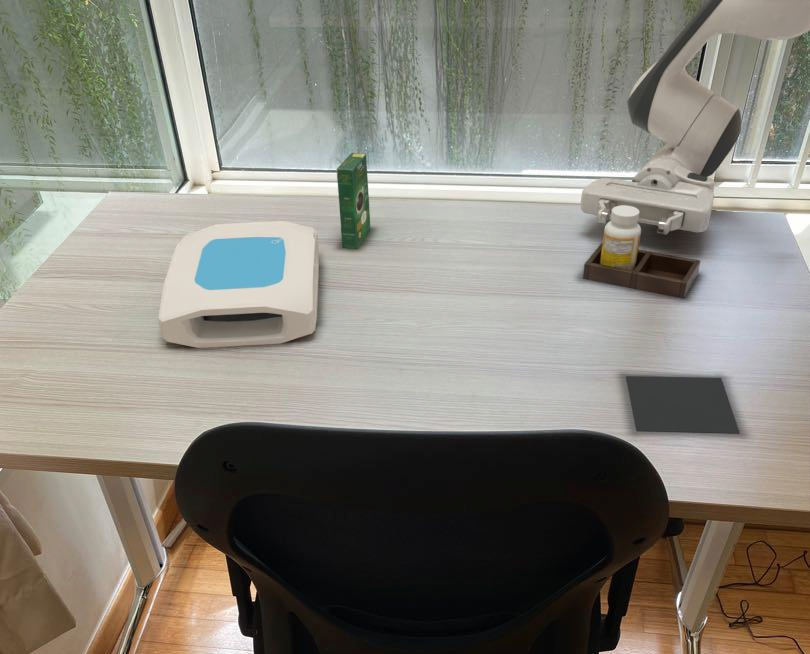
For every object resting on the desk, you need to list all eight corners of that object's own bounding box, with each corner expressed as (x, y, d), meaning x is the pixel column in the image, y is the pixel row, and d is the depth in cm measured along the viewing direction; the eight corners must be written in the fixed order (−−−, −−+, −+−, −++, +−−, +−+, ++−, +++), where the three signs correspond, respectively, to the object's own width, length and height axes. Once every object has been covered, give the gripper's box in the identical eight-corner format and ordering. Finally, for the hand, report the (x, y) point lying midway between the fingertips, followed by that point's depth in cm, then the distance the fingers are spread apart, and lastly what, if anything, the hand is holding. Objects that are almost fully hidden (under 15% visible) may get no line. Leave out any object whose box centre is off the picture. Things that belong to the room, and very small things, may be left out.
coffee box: (355, 230, 149) (350, 150, 140) (371, 231, 149) (367, 151, 140) (341, 250, 143) (334, 168, 135) (357, 251, 143) (352, 170, 134)
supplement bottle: (618, 284, 131) (627, 221, 125) (591, 272, 134) (599, 210, 128) (641, 272, 134) (651, 210, 127) (614, 261, 137) (623, 200, 130)
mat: (720, 380, 112) (721, 377, 112) (738, 436, 103) (739, 432, 103) (625, 379, 113) (625, 375, 113) (635, 434, 104) (636, 430, 104)
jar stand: (697, 277, 133) (700, 260, 131) (683, 301, 128) (686, 283, 126) (599, 259, 138) (601, 242, 136) (582, 281, 133) (584, 263, 131)
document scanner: (164, 352, 121) (154, 311, 117) (189, 262, 142) (182, 224, 138) (316, 343, 122) (311, 302, 117) (319, 255, 142) (315, 217, 138)
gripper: (598, 162, 143) (568, 192, 134) (725, 180, 136) (702, 213, 127) (594, 200, 147) (564, 232, 139) (716, 220, 140) (694, 255, 131)
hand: (631, 223), depth 133 cm, fingers open, 8 cm apart
